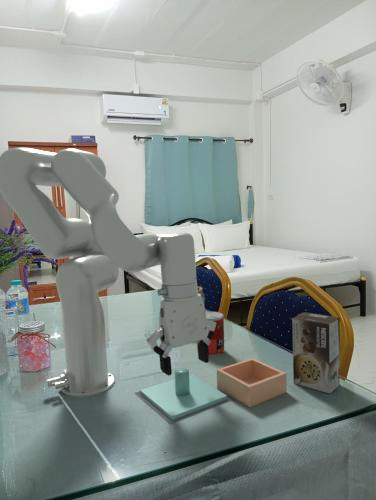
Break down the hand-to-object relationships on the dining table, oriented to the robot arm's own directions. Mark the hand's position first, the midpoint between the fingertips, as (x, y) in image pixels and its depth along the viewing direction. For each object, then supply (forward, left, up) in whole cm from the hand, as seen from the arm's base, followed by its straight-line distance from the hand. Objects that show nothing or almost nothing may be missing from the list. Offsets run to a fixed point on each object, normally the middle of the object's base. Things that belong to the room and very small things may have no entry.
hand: (185, 367), depth 85 cm
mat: (-1, +1, -8) cm, 8 cm away
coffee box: (+28, -12, -8) cm, 32 cm away
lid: (-1, +1, -7) cm, 7 cm away
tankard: (+31, +46, -8) cm, 56 cm away
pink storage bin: (+13, -6, -7) cm, 17 cm away
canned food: (+21, +20, -8) cm, 30 cm away
